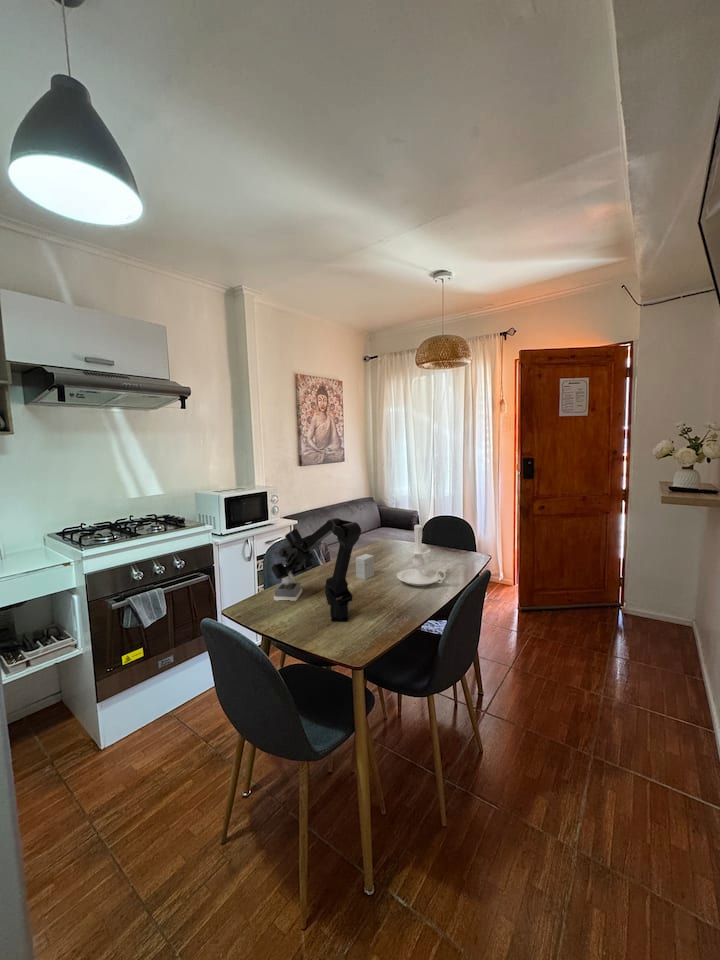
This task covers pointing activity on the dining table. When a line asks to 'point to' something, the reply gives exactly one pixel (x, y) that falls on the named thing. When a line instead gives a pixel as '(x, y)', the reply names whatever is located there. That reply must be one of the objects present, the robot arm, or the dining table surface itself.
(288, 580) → the black-capped silver cylinder
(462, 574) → the dining table surface
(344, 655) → the dining table surface
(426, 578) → the candlestick
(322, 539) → the robot arm
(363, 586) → the dining table surface
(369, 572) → the small box
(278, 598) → the holder
